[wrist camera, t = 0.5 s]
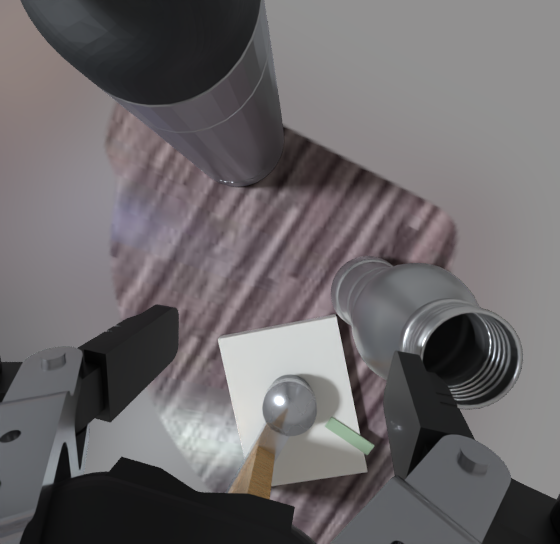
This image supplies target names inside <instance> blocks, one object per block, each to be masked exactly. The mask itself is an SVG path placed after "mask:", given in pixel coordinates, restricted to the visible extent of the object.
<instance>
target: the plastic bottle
mask: <svg viewBox="0 0 560 544" xmlns="http://www.w3.org/2000/svg"><path fill="white" fill-rule="evenodd" d="M331 301H332V304H333V307H334V309H335V311H336V313H337V314H338V315H339V317H340V318H341V319H342V320H344V321H345V322H346V323H348V324H349V325H351V326H352V334H353V337H354V341H355V344H356V347H357V350H358V352H359V354H360V355H361V357H362V359H363V361H364V362H365V363H366V364H367V366H368V367H369V368H370V369H371V370H372V371H373V372H375V373H376V374H377V375H378V376H380V377H382V378H384V379H386V380H387V378H388V374H389V370H390V365H391V361H392V357H393V354H394V352H395V351H396V350H397V351H402V352H407V353H412V354H418V355H420V357H421V360H422V362H423V364H424V366H425V369H426V371H427V372H432V373H436V374H437V375H438V376H439V377H440V378H441V379H442V380H443V381H444V382H445V383H446V384H447V386H448V388H449V389H450V391H451V393H452V395H453V398H454V399H455V401H456V403H457V405H458V406H457V407H458V408H459V409H469V410H470V409H479V408H483V407H486V406H489V405H491V404H493V403H495V402H497V401H499V400H500V399H501V398H502V397H504V396H505V395H506V394H507V393H508V392H509V391H510V390H511V389H512V388H513V386H514V384H515V383H516V381H517V379H518V377H519V375H520V372H521V369H522V362H523V353H522V346H521V343H520V339H519V337H518V335H517V333H516V331H515V330H514V329H513V328H512V326H511V325H510V324H509V323H508V322H507V321H506V320H504V319H503V318H502V317H500V316H499V315H497V314H495V313H493V312H491V311H489V310H486V309H483V308H481V307H479V305H478V303H477V301H476V299H475V297H474V295H473V294H472V293H471V291H470V290H469V289H468V288H467V287H466V285H465V284H464V283H463V282H462V281H461V280H460V279H458V278H457V277H456V276H455V275H453V274H452V273H451V272H449V271H447V270H445V269H443V268H441V267H438V266H435V265H431V264H424V263H408V264H401V265H396V266H393V265H391V264H390V263H389V262H387V261H385V260H383V259H382V258H379V257H375V256H362V257H358V258H355V259H352V260H351V261H349V262H347V263H346V264H345V265H344V266H342V267H341V268H340V270H339V271H338V272H337V274H336V276H335V278H334V279H333V283H332V286H331Z"/></svg>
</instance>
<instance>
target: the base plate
mask: <svg viewBox="0 0 560 544" xmlns="http://www.w3.org/2000/svg"><path fill="white" fill-rule="evenodd" d="M218 342H219V346H220V351H221V355H222V360H223V364H224V369H225V373H226V378H227V382H228V387H229V391H230V396H231V400H232V405H233V409H234V414H235V418H236V423H237V427H238V432H239V436H240V441H241V445H242V450H243V454H244V459H245V457H246V455H247V453H248V451H249V450H250V448H251V446H252V444H253V443H254V441H255V439H256V437H257V435H258V434H259V432H260V430H261V428H262V427H263V425H264V423H265V419H264V416H263V411H262V406H263V401H264V397H265V394H266V392H267V390H268V388H269V387H270V386H271V385H272V384H273V383H274V382H276V381H278V380H280V379H283V378H296V379H299V380H301V381H303V382H305V383H306V384H307V385H308V386H309V387H310V388H311V389H312V390H313V392H314V394H315V397H316V403H317V416H316V419H315V422H314V424H313V425H312V426H311V428H310V429H309V430H307V431H306V432H304V433H302V434H300V435H297V436H290V437H289V438H288V440H287V442H286V444H285V445H284V447H283V449H282V451H281V452H280V454H279V456H278V458H277V459H276V461H275V463H274V467H273V475H272V483H271V486H276V485H283V484H290V483H297V482H303V481H310V480H317V479H324V478H331V477H337V476H344V475H351V474H358V473H365V472H368V471H367V466H366V461H365V456H364V453H365V454H366V455H368V454H369V453H370V451H371V450H372V449H373V447H374V444H372V443H371V442H369V441H368V440H366V439H365V438H363V437H362V436H360V432H359V427H358V422H357V417H356V412H355V407H354V402H353V397H352V392H351V387H350V382H349V377H348V372H347V367H346V362H345V357H344V352H343V347H342V342H341V337H340V332H339V327H338V322H337V317H336V315H335V314H334V315H328V316H323V317H318V318H313V319H307V320H302V321H297V322H292V323H286V324H281V325H276V326H271V327H265V328H260V329H255V330H250V331H244V332H239V333H234V334H229V335H223V336H220V338H219V339H218Z"/></svg>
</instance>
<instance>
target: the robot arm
mask: <svg viewBox="0 0 560 544" xmlns="http://www.w3.org/2000/svg"><path fill="white" fill-rule="evenodd" d="M21 2H22V4H23V7H24V9H25V10H26V12H27V14H28V16H29V17H30V19H31V21H32V22H33V24H34V25H35V26H36V28H37V29H38V31H39V32H40V33H41V35H42V36H43V37H44V38H45V39H46V41H47V42H48V43H49V44H50V45H51V46H52V47H53V48H54V49H55V50H56V51H57V52H58V53H59V54H60V55H61V56H62V57H63V58H64V59H65V60H66V61H68V62H69V63H70V64H71V65H72V66H73V67H75V68H76V69H77V70H78V71H80V72H81V73H82V74H84V76H86V77H87V78H88V79H89V80H91V81H92V82H93V83H94V84H96V85H97V86H98V87H99V88H101V89H102V90H103V91H104V92H106V93H107V94H108V95H109V96H111V97H112V98H113V99H114V100H115V101H117V102H118V103H119V104H120V105H121V106H123V107H124V108H125V109H126V110H128V111H129V112H130V113H132V114H133V115H134V116H135V117H137V118H138V119H139V120H140V121H142V122H143V123H144V124H145V125H146V126H148V127H149V128H150V129H151V130H153V131H154V132H155V133H156V134H158V135H159V136H160V137H161V138H162V139H164V140H165V141H166V142H167V143H169V144H170V145H171V146H172V147H174V148H175V149H176V150H177V151H178V152H180V153H181V154H182V155H183V156H185V157H186V158H187V159H188V160H190V161H191V162H192V163H193V164H194V165H196V166H197V167H198V168H199V169H200V170H202V171H203V172H204V173H205V174H207V175H208V176H209V177H210V178H212V179H214V180H215V181H217V182H219V183H221V184H224V185H227V186H235V187H240V186H248V185H251V184H254V183H256V182H258V181H260V180H261V179H263V178H265V177H266V176H267V175H268V174H269V173H270V172H271V171H272V170H273V169H274V167H275V166H276V164H277V163H278V161H279V159H280V156H281V154H282V150H283V145H284V131H283V124H282V118H281V110H280V102H279V95H278V89H277V82H276V75H275V68H274V62H273V54H272V48H271V41H270V35H269V27H268V21H267V15H266V9H265V2H264V0H21ZM178 327H179V314H178V310H177V309H176V308H174V307H168V306H163V305H154V306H153V307H151V308H149V309H148V310H146V311H145V312H143V313H141V314H139V315H136V316H133V317H130V318H127V319H125V320H123V321H122V322H120V323H118V324H117V325H116V327H112V328H110V329H108V330H107V332H104V333H102V334H100V335H99V336H97V337H95V338H93V339H92V340H90V341H88V342H87V343H85V344H83V345H82V346H80V347H78V348H75V347H69V346H62V347H53V348H49V349H45V350H42V351H39V352H37V353H35V354H33V355H31V356H29V357H28V358H27V359H25V360H24V362H1V358H0V544H316V543H315V542H314V541H313V540H312V539H311V538H310V537H309V536H307V535H306V534H305V533H304V532H302V531H301V530H300V529H298V528H297V527H295V526H294V525H292V520H293V514H294V508H295V507H294V506H290V505H287V504H283V503H280V502H276V501H273V500H269V499H266V498H262V497H259V496H256V495H252V494H247V493H203V492H198V491H195V490H193V489H192V488H190V487H189V486H187V485H186V484H184V483H183V482H181V481H180V480H178V479H177V478H175V477H174V476H172V475H171V474H169V473H168V472H166V471H164V470H163V469H161V468H159V467H155V466H151V465H148V464H145V463H141V462H138V461H134V460H131V459H128V458H124V457H121V458H120V459H119V460H118V462H117V463H116V464H115V465H114V466H113V468H112V469H111V470H110V471H109V472H96V473H90V474H84V470H85V462H86V455H87V447H88V440H89V433H90V428H89V423H90V422H91V421H92V420H93V419H94V418H96V419H100V420H104V421H107V422H111V421H112V420H113V419H114V418H115V417H116V416H117V415H118V414H120V412H122V411H123V410H124V409H125V407H126V406H128V404H129V403H130V402H131V401H133V400H134V399H135V398H136V397H137V396H138V394H140V393H141V391H143V390H144V389H145V388H146V387H147V386H148V385H149V384H150V383H151V382H152V381H153V380H154V379H155V378H156V377H157V376H158V375H159V374H160V373H161V372H162V371H163V370H164V369H165V368H166V367H167V366H168V365H169V364H170V363H171V362H172V361H173V359H174V358H175V356H176V353H177V350H178ZM383 404H384V413H385V419H386V425H387V431H388V437H389V443H390V449H391V455H392V461H393V467H394V473H395V476H394V477H392V478H391V479H390V480H389V481H388V482H387V483H386V484H385V485H384V487H383V488H382V489H381V490H380V491H379V492H378V493H377V494H376V495H375V496H374V497H373V498H372V499H371V500H370V501H369V502H368V504H367V505H366V506H365V507H364V508H363V509H362V510H361V511H360V512H359V513H358V514H357V515H356V516H355V517H354V518H353V519H352V521H351V522H350V523H349V524H348V525H347V526H346V527H345V528H344V529H343V530H342V531H341V532H340V533H339V534H338V535H337V536H336V538H335V539H334V540H333V541H332V542H331V543H330V544H560V494H559V496H558V498H557V500H556V499H554V498H551V497H550V496H547V495H545V494H543V493H541V492H539V491H537V490H534V489H532V488H530V487H528V486H526V485H524V484H522V483H520V482H518V481H516V480H514V479H512V478H511V475H510V472H509V470H508V468H507V466H506V465H505V463H504V462H503V461H502V460H501V459H500V457H499V456H497V455H496V454H495V453H494V452H493V451H492V450H490V449H489V448H488V447H486V446H485V445H483V444H481V443H479V442H478V441H476V440H475V439H474V437H473V435H472V433H471V431H470V429H469V427H468V425H467V423H466V421H465V419H464V417H463V415H462V413H461V411H460V409H459V408H458V407H457V406H458V405H457V403H456V401H455V399H454V398H453V395H452V393H451V391H450V389H449V388H448V386H447V384H446V383H445V382H444V381H443V380H442V379H441V378H440V377H439V376H438V375H437V374H436V373H432V372H427V371H426V369H425V366H424V364H423V362H422V360H421V357H420V355H418V354H412V353H407V352H402V351H397V350H396V351H395V352H394V354H393V357H392V361H391V365H390V370H389V374H388V378H387V382H386V387H385V391H384V402H383Z"/></svg>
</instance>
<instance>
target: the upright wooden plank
mask: <svg viewBox="0 0 560 544" xmlns="http://www.w3.org/2000/svg"><path fill="white" fill-rule="evenodd" d="M262 411H263V416H264V419H265V423H264V425H263V427H262V428H261V430H260V432H259V434H258V435H257V437H256V439H255V441H254V443H253V444H252V446H251V448H250V450H249V451H248V453H247V455H246V457H245V459H244V460H243V462H242V464H241V466H240V468H239V469H238V471H237V473H236V475H235V476H234V478H233V480H232V482H231V484H230V485H229V487H228V489H227V491H226V493H247V494H252V495H256V496H259V497H262V498H266V499H270V491H271V483H272V475H273V467H274V463H275V461H276V459H277V458H278V456H279V454H280V452H281V451H282V449H283V447H284V445H285V444H286V442H287V440H288V438H289V437H290V436H297V435H300V434H302V433H304V432H306V431H307V430H309V429H310V428H311V426H312V425H313V424H314V422H315V419H316V416H317V403H316V397H315V394H314V392H313V390H312V389H311V388H310V387H309V386H308V385H307V384H306V383H305V382H303V381H301V380H299V379H296V378H283V379H280V380H278V381H276V382H274V383H273V384H272V385H271V386H270V387H269V388H268V390H267V392H266V394H265V397H264V401H263V406H262Z"/></svg>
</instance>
